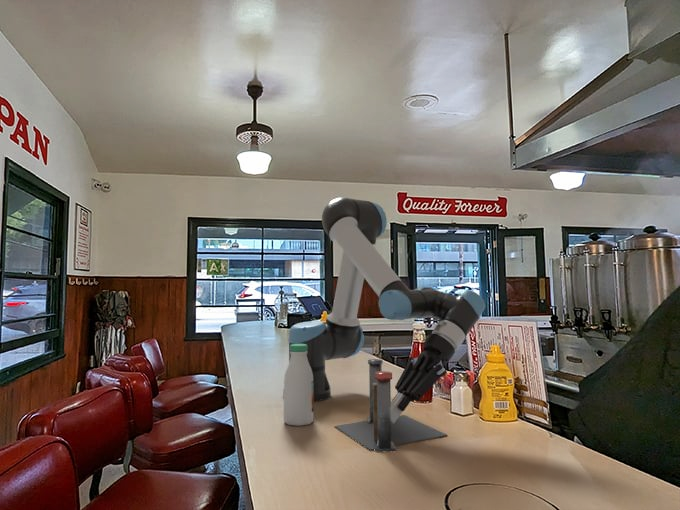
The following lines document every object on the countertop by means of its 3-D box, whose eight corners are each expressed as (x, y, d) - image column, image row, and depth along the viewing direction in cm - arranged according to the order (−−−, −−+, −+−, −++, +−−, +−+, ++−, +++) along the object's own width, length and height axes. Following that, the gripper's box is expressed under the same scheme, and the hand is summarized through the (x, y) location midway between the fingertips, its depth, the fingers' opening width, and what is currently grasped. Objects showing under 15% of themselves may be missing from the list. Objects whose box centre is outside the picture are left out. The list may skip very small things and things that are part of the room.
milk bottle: (309, 427, 113) (309, 346, 114) (279, 425, 115) (280, 346, 116) (316, 418, 121) (316, 342, 122) (289, 416, 122) (289, 342, 123)
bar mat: (334, 427, 113) (334, 425, 113) (404, 416, 122) (404, 414, 122) (370, 450, 97) (370, 449, 97) (447, 436, 106) (447, 434, 106)
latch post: (373, 444, 101) (372, 371, 102) (392, 444, 101) (392, 370, 102) (375, 451, 97) (374, 375, 98) (395, 451, 97) (394, 374, 98)
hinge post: (366, 419, 120) (366, 359, 121) (383, 419, 120) (382, 358, 121) (368, 424, 115) (367, 361, 116) (385, 424, 115) (384, 361, 116)
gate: (371, 421, 115) (371, 372, 116) (381, 421, 115) (380, 372, 116) (374, 440, 101) (373, 385, 102) (385, 441, 101) (384, 385, 102)
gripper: (418, 329, 119) (364, 402, 110) (452, 334, 107) (394, 416, 98) (435, 348, 121) (383, 421, 112) (470, 355, 109) (414, 437, 100)
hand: (388, 419), depth 105 cm, fingers closed
